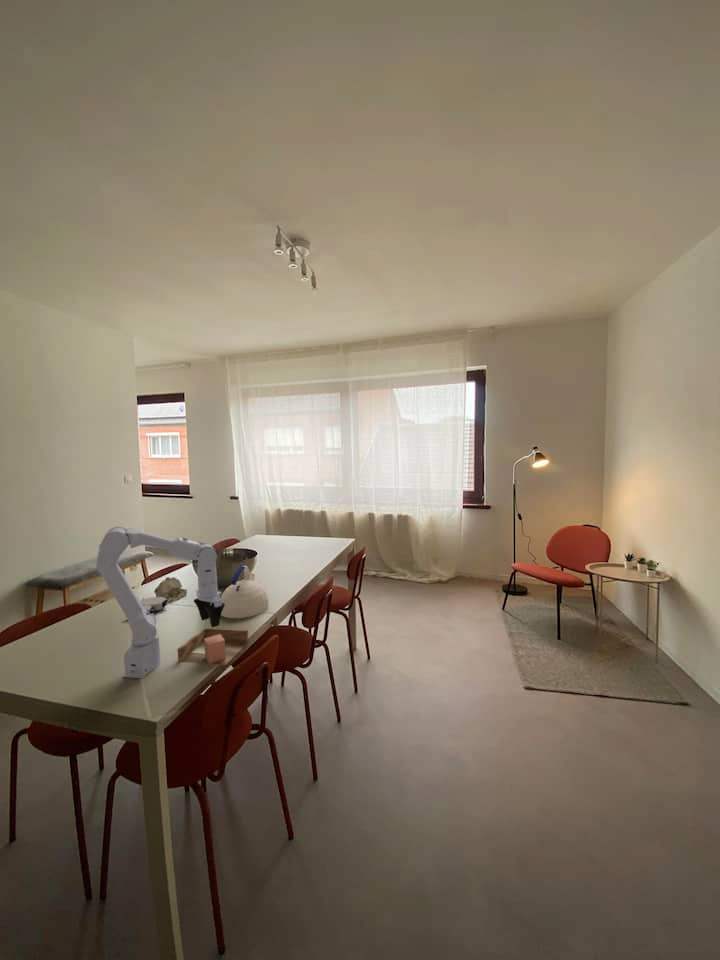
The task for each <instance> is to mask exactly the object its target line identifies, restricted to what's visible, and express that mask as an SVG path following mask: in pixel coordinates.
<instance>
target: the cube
mask: <svg viewBox="0 0 720 960" xmlns="http://www.w3.org/2000/svg"><path fill="white" fill-rule="evenodd" d="M204 647H205V658H206V659H207V661H208V663H209V664H208V665H211V664H210V663H213V662H216V661H220V660H223V659H226V654H225V640H224V638H223V637H222V636H221V634H219V635H215V636H212V637H208V638H204Z"/></svg>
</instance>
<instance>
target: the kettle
mask: <svg viewBox="0 0 720 960" xmlns="http://www.w3.org/2000/svg"><path fill="white" fill-rule="evenodd" d="M243 571H244V572H243ZM242 572H243V573H244V579H242V580H238V579H239V576H240V575H241V573H242ZM255 577H256V574H255V573H254V572H250V569H249V567H248V566H246V565H241V566H240V567H238V569H237V570H235V573H234V574H233V576H232V579H231V582H230V585H229V586H228V587H227V588H226V589H225V590H224V591H223V593H221V596H220V599H221V603H224V604H225V606H224V608H223V610H222V613H221V616H222V617H224V618H227V619H234V618H236V619H245V617H247V618H251V617H254V615H255V616H257V614H258V615H260V614H262V613H264V612H265V611H266V610H268V609H269V607H270V604H269V596H268V593H267V591H266V590H265V588H264V587H263V586H262V585H261V584H259V583H257V582H256V581H255ZM221 616H220V617H221ZM250 616H251V617H250Z"/></svg>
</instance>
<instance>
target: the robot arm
mask: <svg viewBox="0 0 720 960" xmlns="http://www.w3.org/2000/svg"><path fill="white" fill-rule="evenodd" d="M129 546H130V549H133V548H137V547H140V546H146V547H150V548H155V549H160V550H166V551H169V552H170V553H171V555H172V556H174V557H178V558H181V559H185V560H190V561H197V569H196V570H197V584H198V585H197V586H198V587H197V588H198V589H197V590H196V597H197V598H195V599H193V602H194V604H195V606H196V607H197V609H198V610H197V611H198V612H199V615H200V618H201V620H202V621H205V620H208V619H209V621H210V622H209V623H210V626H211V628H216V627H217V626H219V625H220V622H221V621H220V620H221V613H222V610H223V608H224V606H225V604H224V603H221V597H220V595H221V596H222V592H221V591H220V590H219V589H218V575H217V566H216V560H217V558H218V554H217V551H216V549H215V548H214V547H213V545H211V544H210V543H207V542H203V541H199V542H197V541H194V540H191V539H189V538H188V537H187V536H183V537H178V538H175V539H169V538H166V537H163V536H161V535H160V536H159V535H156V534H153V533H150V532H146V531H142V530H139V529H134V528H126V527H122V526H114V527H112V528H110V529H108V531H107V532H106V534H105V535H104V537H103V539H102V540H101V543H100V544H99V546H98V554H97V558H96V564H95V566H96V569H97V570H98V572H99V573H100V576H101V577H102V579H103V580H104V582H105V584H106V585H107V587H108V589H109V590H110V592H111V594H112V595H113V597H114V599H115V600H116V602H117V603H118V605H119V607H120V608H121V610H122V612H123V614H124V615H126V619H127V622H128V625H129V626H128V627H130V630H131V632H132V636H131V637H132V639H131V645H130V647H129V648H128V649H127V650H126V652H124V656H123V663H124V664H123V665H124V674H123V675H122V677H123V678H130V679H131V678H132V679H133V678H134V679H143V677H145V676H146V675H148V674H149V673H150V672H151V671H154V670H155V669H158V667H159V666H161V662H162V661H161V647H160V637H159V633H157V630H158V629H157V618H156V617H155V615H154V616H153V615H152V614H150V613H149V612H148V611H147V610H146V608H145V607H143V606H142V604H141V601H140V599H139V598H138V596H137V594H136V592H135V591H134V589H133V587H132V586H131V583H130V582H129V581H128V579H127V577H126V575H125V574H124V572H123V570H122V568H121V567H120V566H119V563H118V561H119V559H120V557H121V555H122V554H123V553H124V552H125V551H126V549H127V548H128V547H129Z"/></svg>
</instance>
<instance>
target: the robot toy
mask: <svg viewBox="0 0 720 960" xmlns="http://www.w3.org/2000/svg"><path fill="white" fill-rule="evenodd" d="M170 599H171V598H170ZM170 599H169V601H170ZM169 601H168V602H169ZM140 602H141V604H142V606H143V607H145V608H146V610H147V611H148V612H149V613H150V614H152V615H153V616H154V617H155V611H161V610H162V609H164V608H166V606H167V605H168V604H169V603H168V602H167V599H166V598H164V597H156V596H153V597H152V596H151V597H146V598H145V597H143V598H142V599H141V601H140ZM124 615H125V614H124ZM125 617H126V615H125ZM126 618H127V617H126Z"/></svg>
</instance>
